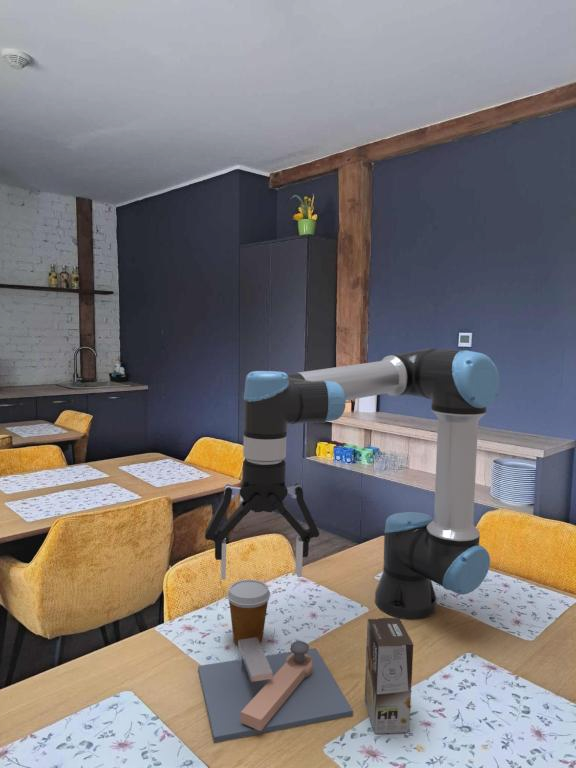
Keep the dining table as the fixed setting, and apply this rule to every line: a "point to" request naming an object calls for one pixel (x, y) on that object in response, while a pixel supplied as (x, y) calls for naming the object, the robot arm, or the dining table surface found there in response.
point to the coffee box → (388, 675)
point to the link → (278, 687)
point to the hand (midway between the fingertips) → (261, 575)
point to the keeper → (253, 660)
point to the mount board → (235, 690)
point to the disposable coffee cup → (248, 608)
